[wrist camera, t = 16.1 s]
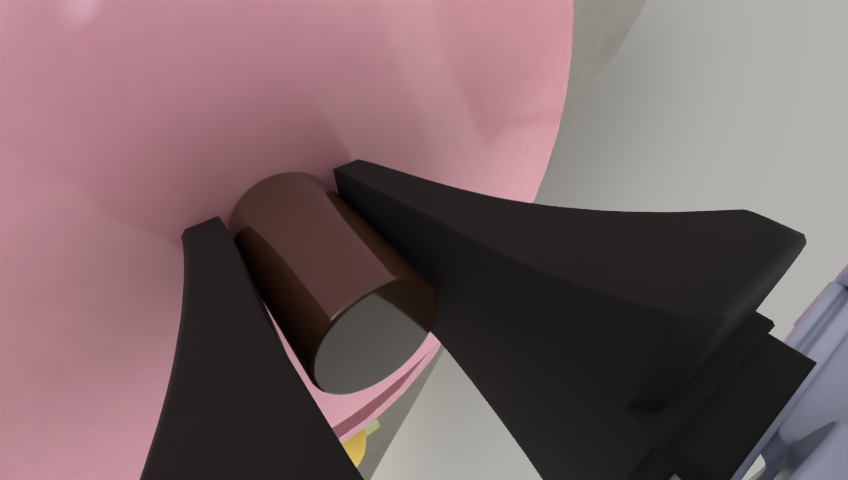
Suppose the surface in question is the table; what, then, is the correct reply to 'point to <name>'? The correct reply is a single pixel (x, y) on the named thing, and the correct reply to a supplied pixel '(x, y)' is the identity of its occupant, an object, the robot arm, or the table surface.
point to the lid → (236, 189)
